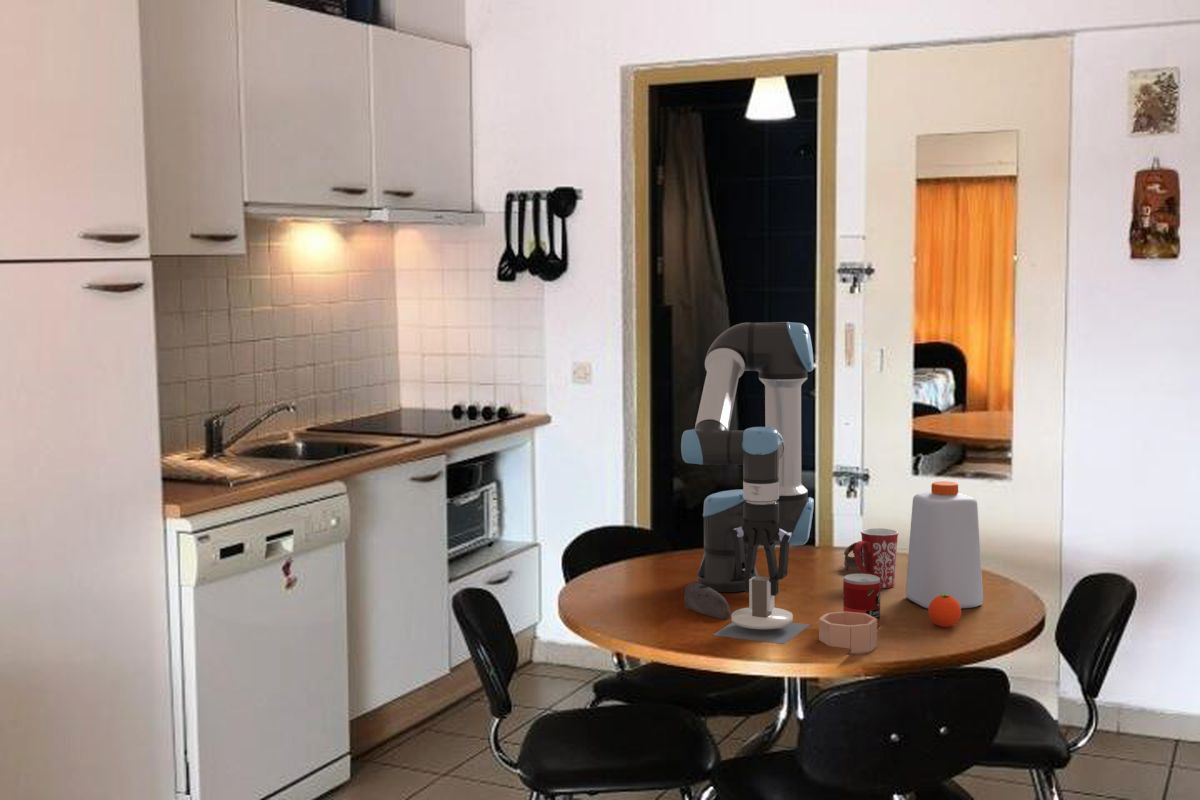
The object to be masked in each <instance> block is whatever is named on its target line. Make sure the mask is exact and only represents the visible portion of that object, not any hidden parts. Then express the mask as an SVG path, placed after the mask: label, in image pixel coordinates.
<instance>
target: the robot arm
mask: <svg viewBox="0 0 1200 800" xmlns="http://www.w3.org/2000/svg"><path fill="white" fill-rule="evenodd" d="M814 364H815V363H814V352H813V345H812V338H811V333H810V330H809V327H808V326H807V325H806V324H804V323H802V322H791V321H790V322H789V321H786V322H785V321H780V322H778V321H777V322H774V321H773V322H741V323H739V324H738V323H737V324H735V325H732V326H731V327H729V328H727V329H726V330H724V331H723V332H721V334H719V336H717V337H716V339H714V341H713V342H712V343H711V345H710V347H709V348H708V349H707V352H706V354H705V360H704V368H705V371H706V376H705V379H704V384H703V390H702V393H701V398H700V402H699V407H698V411H697V416H696V421H695V424H694V425H695V426H694V428H692V429H686V430H684V431H683V433H682V435H681V442H680V450H681V457H682V461H683V462H684V463H686V464H694V465H695V464H697V465H702V466H703V465H734V466H735V465H736V466H742V467H743V469H742V470H743V472H742V474H743V477H742V478H743V479H742V480H743V481H742V482H743V483H742V485H743V487H742V489H729V490H722V491H718V492H716V493H715V492H714V493H712V494H709V495H708V496H706V498H704V501H703V511H702V512H703V513H702V517H703V556H702V560H701V562H700V566H699V569H698V572H697V576H696V583H699V584H702V585H705V586H708V587H710V588H712V589H713V590H715V591H716V592H718V593H738V592H745V593H746V594H748V595H749V600H748V602H749V605H748V607H749V609H751V610H752V579H753V578H755V577H757V576H759V574H758V571H757V568H756V567H757V566H756V562H757V561H756V560H757V556H758V555H757V554H758V548H759V545H761V546H763V549H764V551H765V557H766V564H767V569H768V577H770V579H769V580H768V581H767V611H768V612H770V611H772V610H773V609H774V608H776V607H775V606H776V605H775V596H778V595H779V581H780V580H783V579H785V578H786V577H787V576H788V569H789V556H790V555H789V554H790V552H789V551H790V546H803V545H805V544H806V543H808V541H809V538H810V535H811V534H810V532H811V530H812V529H811V528H812V520H813V513H814V508H815V506H814V505H815V504H814V503H815V499H814V498H813V497H811V496H809V497H808V493H809V490H808V489H807V488H806V487H805V486H804V485H803V484H802V385H803V384H804V383H805V382H806V381H807V380H808V372H809V373H810V372H812V371H813V370H814V368H815V367H814V366H815V365H814ZM748 371H749V372H750V371H751V372H758V379H759V381H760V382H761V383H762V384H764V398H765V400H764V405H765V406H764V407H765V411H764V413H765V415H764V416H765V417H764V418H765V419H764V420H765V421H764V422H765V426H752V427H748V428H746V429H744V430H735V429H734V430H731V429H730V426H731V421H732V416H733V410H734V404H735V399H736V394H737V389H738V383H739V379H740V378H742V376H743V374H744V372H748ZM776 546H779V553H778V555H779V557H778V561H777V554H776V548H775V547H776Z"/></svg>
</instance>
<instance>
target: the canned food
mask: <svg viewBox="0 0 1200 800" xmlns="http://www.w3.org/2000/svg"><path fill="white" fill-rule="evenodd" d="M842 587H843V588H842V591H843V593H842V594H843V598H842V599H843V603H842V604H843V607H842V608H843V611H848V612H857V613H866V614H869V615H871V616H872V617H874V618H876V619H877V630H878V629H879V628H880V624H879V623H881V589H880V578H879V577H877V576H875V575H870V574H862V573H850V574H846V575H844V577H843V585H842ZM843 611H842V612H843ZM878 624H879V625H878Z"/></svg>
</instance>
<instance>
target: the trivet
mask: <svg viewBox="0 0 1200 800" xmlns="http://www.w3.org/2000/svg"><path fill="white" fill-rule="evenodd" d="M809 626H810V624H808V623H798V622H792V623H791V624H790V625H788V626H785V627H782V628H776V629H751V628H745V627H741V626H738V625H735V624H734V623H733V622H732V621H731V622H730V623H729V624H727V625H726V626H724V627H723V628H721V629H719V630H718V631H717V632H715V633H713V634H712V636H716V637H723V638H724V637H725V638H732V639H740V640H747V641H755V642H763V643H765V642H766V643H772V644H773V643H774V644H779V645H780V644H781V645H785V644H786V643H788V642H790V641H791V640H792V639H793V638H795V637H796V636H798V634H800V633H801V632H803V631H805V629H807V628H808V627H809Z"/></svg>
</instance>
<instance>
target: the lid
mask: <svg viewBox="0 0 1200 800" xmlns="http://www.w3.org/2000/svg"><path fill="white" fill-rule="evenodd" d="M769 579H770V577H769V576H760V575H758V576H757V577H755V578H753V579H752V610H751V609H749V606H748V607H743V608H739V609H736V610H735V611H733V612H731V614H730V618H731V623H732V622H733V623H734V624H735V625H738V626H741V627H745V628H751V629H776V628H782V627H785V626H788V625H790V624H791V623H794V621H793V620H794V619H793V618H794V617H793V616H794V615H793V613H792V612H791V611H789V610H786V609H783V608H779V607H775V608H774V609H773V610H772V611H770V612H768V611H767V581H768V580H769Z"/></svg>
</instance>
